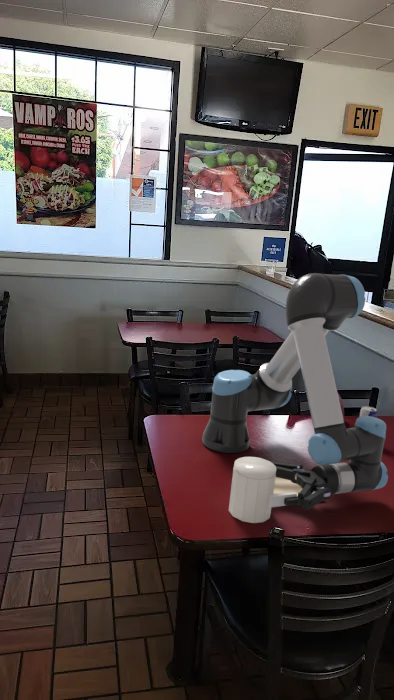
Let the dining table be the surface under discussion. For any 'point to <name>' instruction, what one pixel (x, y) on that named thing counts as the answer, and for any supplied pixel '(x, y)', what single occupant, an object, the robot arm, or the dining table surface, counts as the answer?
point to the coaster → (286, 486)
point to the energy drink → (368, 411)
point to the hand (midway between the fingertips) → (256, 486)
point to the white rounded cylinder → (252, 489)
